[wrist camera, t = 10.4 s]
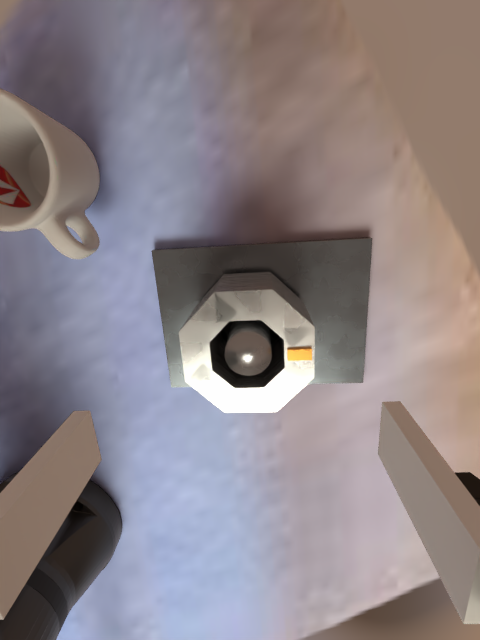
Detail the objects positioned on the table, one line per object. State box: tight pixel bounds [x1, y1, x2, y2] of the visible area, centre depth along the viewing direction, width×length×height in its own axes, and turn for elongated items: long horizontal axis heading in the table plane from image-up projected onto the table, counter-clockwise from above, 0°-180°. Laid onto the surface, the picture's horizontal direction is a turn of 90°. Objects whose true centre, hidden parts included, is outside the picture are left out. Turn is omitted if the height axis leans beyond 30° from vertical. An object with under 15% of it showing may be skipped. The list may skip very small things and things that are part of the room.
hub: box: [179, 272, 315, 413], centre depth 25 cm, size 9×9×6 cm
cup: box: [0, 89, 100, 259], centre depth 24 cm, size 11×8×8 cm
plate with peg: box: [152, 237, 372, 387], centre depth 26 cm, size 18×13×8 cm
